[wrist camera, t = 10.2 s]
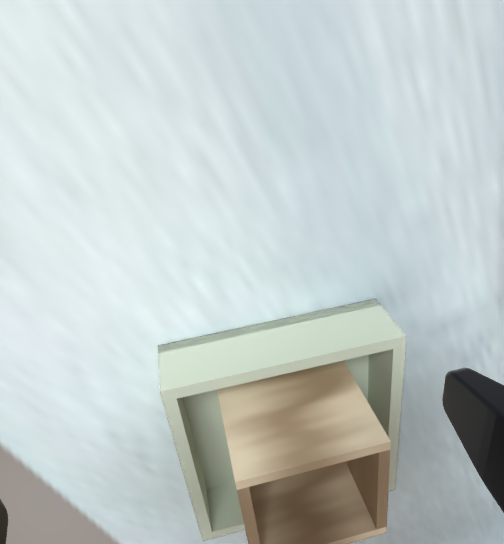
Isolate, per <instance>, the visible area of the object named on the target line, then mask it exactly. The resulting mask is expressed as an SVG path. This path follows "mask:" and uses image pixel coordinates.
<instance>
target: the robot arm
mask: <svg viewBox="0 0 504 544" xmlns="http://www.w3.org/2000/svg"><path fill="white" fill-rule="evenodd" d="M443 406H444V410H445V412H446V414H447V416H448V418H449V420H450V421H451V423H452V425H453V427H454V429H455V431H456V433H457V435H458V436H459V438H460V440H461V442H462V444H463V446H464V448H465V450H466V451H467V453H468V455H469V457H470V459H471V461H472V463H473V465H474V466H475V468H476V470H477V472H478V474H479V475H480V477H481V479H482V480H483V482H484V484H485V485H486V487H487V488H488V490H489V491H490V493H491V494H492V496H493V497H494V499H495V500H496V502H497V503H498V505H499V506H500V508H501V509H502V511H503V512H504V385H502V384H500V383H498V382H496V381H494V380H492V379H490V378H488V377H486V376H484V375H482V374H480V373H478V372H476V371H474V370H472V369H469V368H461V369H457V370H453V371H450V372H448V373H447V375H446V378H445V385H444V393H443ZM7 527H8V514H7V510H6V508H5V506H4V504H3V503H2V501H1V500H0V544H6V537H7Z"/></svg>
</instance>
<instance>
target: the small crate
mask: <svg viewBox="0 0 504 544" xmlns="http://www.w3.org/2000/svg"><path fill="white" fill-rule="evenodd" d="M217 392H218V397H219V402H220V408H221V413H222V418H223V423H224V428H225V433H226V438H227V443H228V448H229V454H230V459H231V464H232V469H233V474H234V479H235V484H236V489H237V493H238V498H239V502H240V507H241V512H242V516H243V521H244V525H245V530H246V535H247V539H248V544H349V543H352V542H356V541H359V540H363V539H366V538H369V537H373V536H376V535H380V534H383V533H386V527H387V507H388V487H389V467H390V447H391V441H390V439H389V438H388V436H387V434H386V432H385V431H384V429H383V427H382V426H381V424H380V422H379V420H378V419H377V417H376V415H375V414H374V412H373V410H372V408H371V407H370V405H369V403H368V402H367V400H366V398H365V396H364V395H363V393H362V391H361V390H360V388H359V386H358V384H357V383H356V381H355V379H354V378H353V376H352V374H351V372H350V371H349V369H348V367H347V366H346V364H345V362H344V360H343V361H339V362H334V363H330V364H326V365H321V366H317V367H312V368H308V369H304V370H299V371H295V372H291V373H286V374H282V375H278V376H273V377H269V378H265V379H260V380H256V381H252V382H247V383H243V384H239V385H234V386H230V387H225V388H221V389H217Z"/></svg>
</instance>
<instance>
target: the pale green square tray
mask: <svg viewBox="0 0 504 544" xmlns="http://www.w3.org/2000/svg"><path fill="white" fill-rule="evenodd" d="M405 349H406V335H405V333H404V332H403V331H402V330H401V329H400V327H399V326H398V325H397V324H396V323H395V321H394V320H393V319H392V318H391V317H390V315H389V314H388V313H387V312H386V311H385V309H384V308H383V307H382V306H381V304H380V303H379V302H378V301H377V300H376V299H373V300H368V301H363V302H359V303H354V304H349V305H345V306H340V307H335V308H331V309H326V310H321V311H317V312H312V313H307V314H303V315H298V316H294V317H289V318H284V319H280V320H275V321H270V322H266V323H261V324H256V325H252V326H247V327H242V328H238V329H233V330H228V331H224V332H219V333H214V334H210V335H205V336H200V337H196V338H191V339H186V340H182V341H177V342H172V343H168V344H163V345H158V361H159V386H160V394H161V398H162V401H163V405H164V408H165V412H166V415H167V419H168V422H169V426H170V429H171V433H172V436H173V439H174V443H175V446H176V450H177V453H178V457H179V460H180V464H181V467H182V471H183V474H184V477H185V481H186V484H187V488H188V491H189V495H190V498H191V502H192V505H193V509H194V512H195V515H196V519H197V522H198V526H199V529H200V533H201V536H202V540H203V541H206V540H210V539H214V538H217V537H221V536H225V535H229V534H232V533H236V532H240V531H243V530H245V525H244V521H243V516H242V512H241V507H240V502H239V498H238V493H237V489H236V484H235V479H234V474H233V469H232V464H231V459H230V454H229V448H228V443H227V438H226V433H225V428H224V423H223V418H222V413H221V408H220V402H219V397H218V392H217V389H221V388H225V387H230V386H234V385H239V384H243V383H247V382H252V381H256V380H260V379H265V378H269V377H273V376H278V375H282V374H286V373H291V372H295V371H299V370H304V369H308V368H312V367H317V366H321V365H326V364H330V363H334V362H339V361H343V360H344V362H345V364H346V366H347V367H348V369H349V371H350V372H351V374H352V376H353V378H354V379H355V381H356V383H357V384H358V386H359V388H360V390H361V391H362V393H363V395H364V396H365V398H366V400H367V402H368V403H369V405H370V407H371V408H372V410H373V412H374V414H375V415H376V417H377V419H378V420H379V422H380V424H381V426H382V427H383V429H384V431H385V432H386V434H387V436H388V438H389V439H390V441H391V447H390V467H389V487H388V491H392V490H395V484H396V470H397V457H398V443H399V430H400V416H401V403H402V389H403V376H404V362H405Z"/></svg>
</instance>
